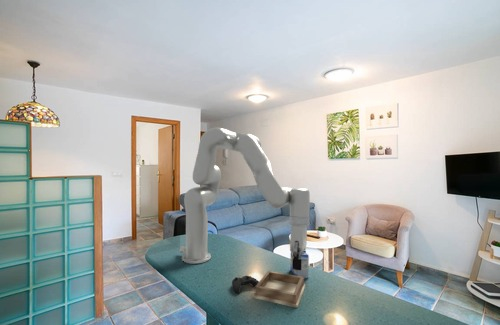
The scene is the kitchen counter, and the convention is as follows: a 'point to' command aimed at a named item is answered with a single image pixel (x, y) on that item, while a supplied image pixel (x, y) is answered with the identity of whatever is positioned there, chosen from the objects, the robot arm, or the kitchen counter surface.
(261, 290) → the wooden tray
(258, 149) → the robot arm
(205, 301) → the kitchen counter surface
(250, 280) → the gaming controller
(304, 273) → the medicine box
